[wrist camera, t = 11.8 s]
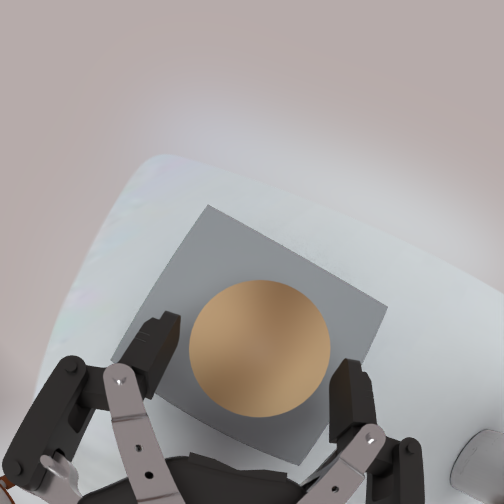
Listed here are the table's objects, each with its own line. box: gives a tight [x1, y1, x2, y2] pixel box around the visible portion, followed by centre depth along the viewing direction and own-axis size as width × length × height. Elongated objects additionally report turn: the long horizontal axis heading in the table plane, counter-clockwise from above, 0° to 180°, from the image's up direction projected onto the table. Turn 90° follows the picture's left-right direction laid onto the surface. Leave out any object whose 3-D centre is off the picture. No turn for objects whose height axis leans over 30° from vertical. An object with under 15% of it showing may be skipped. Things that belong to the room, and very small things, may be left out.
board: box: [111, 205, 388, 466], centre depth 21 cm, size 16×14×5 cm
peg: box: [189, 280, 330, 417], centre depth 17 cm, size 6×6×13 cm
